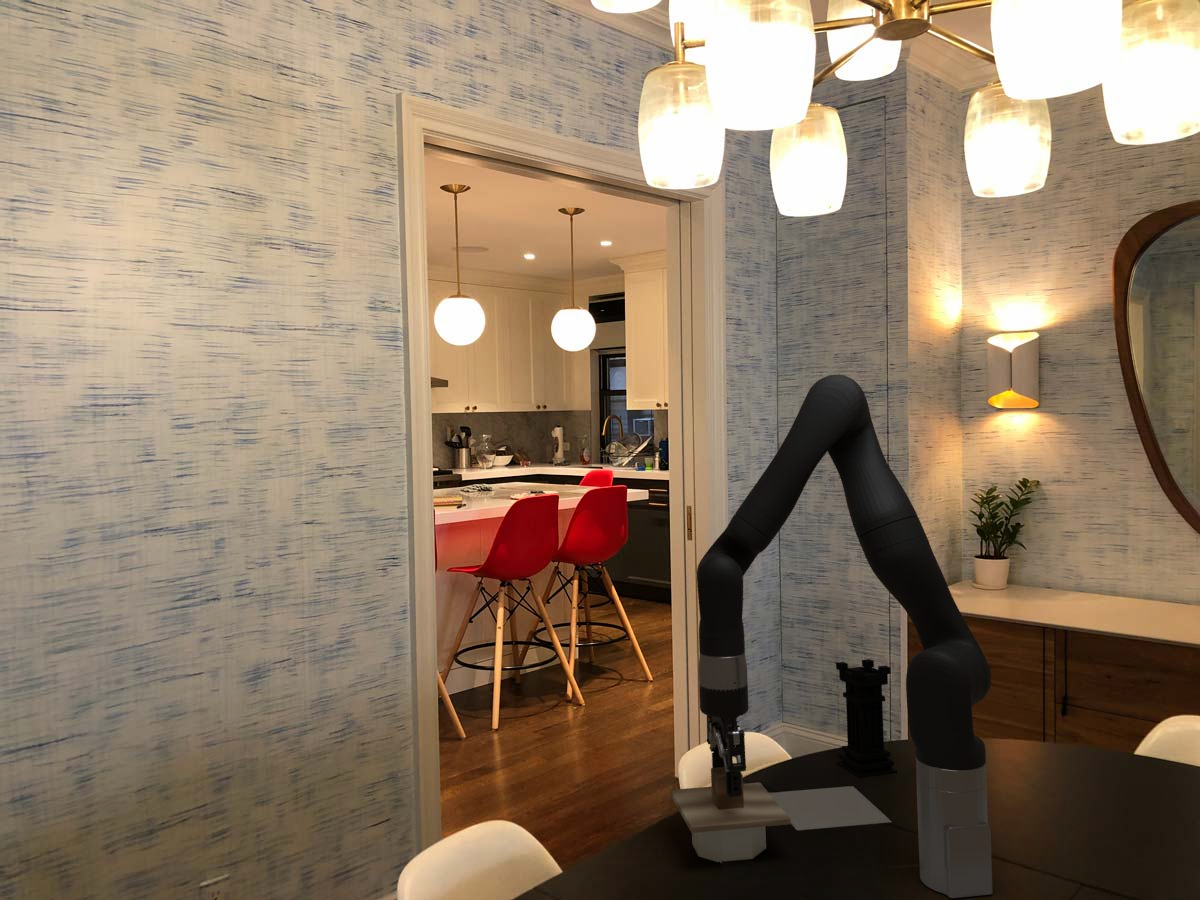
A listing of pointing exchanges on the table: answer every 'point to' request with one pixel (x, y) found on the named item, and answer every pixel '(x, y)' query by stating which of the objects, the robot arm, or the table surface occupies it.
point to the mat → (828, 808)
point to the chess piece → (865, 720)
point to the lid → (727, 806)
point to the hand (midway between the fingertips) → (726, 785)
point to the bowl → (730, 844)
